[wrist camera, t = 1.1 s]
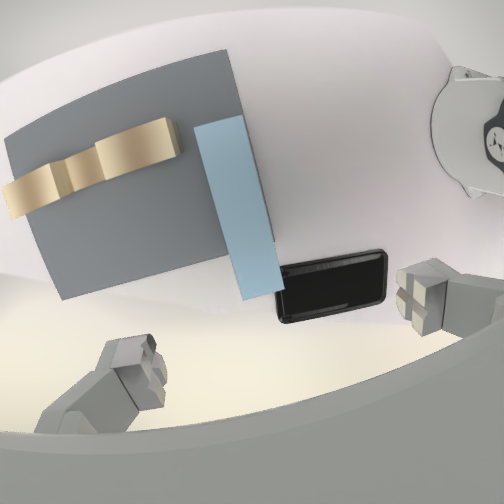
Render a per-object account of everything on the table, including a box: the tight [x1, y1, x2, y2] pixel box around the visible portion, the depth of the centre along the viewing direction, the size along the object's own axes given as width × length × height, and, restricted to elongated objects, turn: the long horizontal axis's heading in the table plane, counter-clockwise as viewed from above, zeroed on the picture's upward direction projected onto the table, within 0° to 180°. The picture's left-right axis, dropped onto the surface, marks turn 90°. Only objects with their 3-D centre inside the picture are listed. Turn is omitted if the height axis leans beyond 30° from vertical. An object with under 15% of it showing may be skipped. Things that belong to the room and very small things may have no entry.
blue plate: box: [194, 115, 284, 301], centre depth 29 cm, size 4×14×11 cm, turn 14°
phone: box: [275, 249, 388, 324], centre depth 40 cm, size 8×1×15 cm
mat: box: [4, 49, 275, 300], centre depth 32 cm, size 28×22×1 cm
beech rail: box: [2, 117, 183, 220], centre depth 28 cm, size 18×4×7 cm, turn 104°
